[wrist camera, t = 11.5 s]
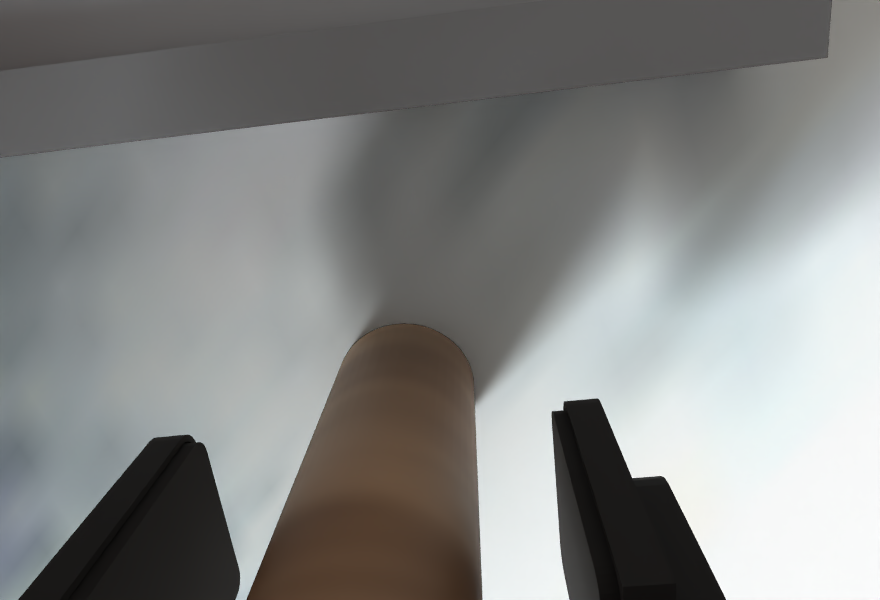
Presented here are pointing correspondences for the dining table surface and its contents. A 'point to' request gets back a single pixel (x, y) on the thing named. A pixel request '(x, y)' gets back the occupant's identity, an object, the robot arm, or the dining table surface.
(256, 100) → the grey open tray
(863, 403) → the dining table surface
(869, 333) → the dining table surface
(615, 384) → the dining table surface
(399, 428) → the dowel
